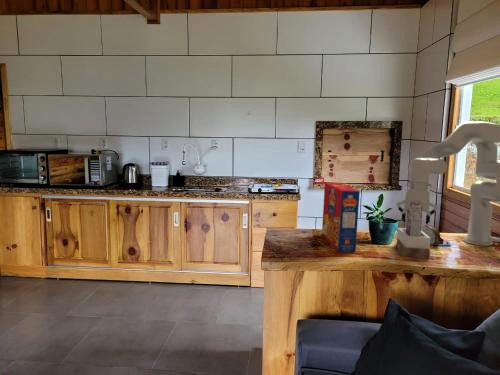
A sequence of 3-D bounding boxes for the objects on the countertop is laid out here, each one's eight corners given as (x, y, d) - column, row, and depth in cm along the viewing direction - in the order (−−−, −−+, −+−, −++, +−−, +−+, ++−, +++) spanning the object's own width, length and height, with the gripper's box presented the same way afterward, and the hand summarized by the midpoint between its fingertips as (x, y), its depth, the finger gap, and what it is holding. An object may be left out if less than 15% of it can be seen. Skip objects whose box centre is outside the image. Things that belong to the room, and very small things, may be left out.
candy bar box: (404, 233, 179) (406, 199, 177) (416, 234, 178) (418, 199, 175) (408, 239, 168) (411, 203, 166) (420, 240, 167) (423, 204, 165)
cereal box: (321, 235, 197) (324, 182, 193) (336, 235, 198) (340, 183, 194) (338, 252, 169) (342, 190, 166) (355, 252, 170) (359, 191, 166)
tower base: (423, 248, 180) (423, 239, 180) (429, 260, 163) (429, 250, 163) (396, 246, 184) (397, 237, 183) (399, 257, 167) (400, 247, 166)
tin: (440, 247, 181) (442, 230, 180) (433, 247, 181) (435, 230, 180) (426, 239, 196) (428, 223, 195) (420, 238, 196) (422, 223, 195)
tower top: (418, 239, 181) (419, 228, 180) (429, 248, 165) (430, 237, 164) (397, 237, 182) (397, 227, 181) (405, 247, 166) (406, 236, 166)
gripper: (438, 186, 170) (435, 223, 172) (398, 183, 176) (394, 219, 178) (440, 188, 163) (436, 226, 165) (398, 185, 169) (395, 222, 171)
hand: (415, 222), depth 172 cm, fingers open, 9 cm apart
